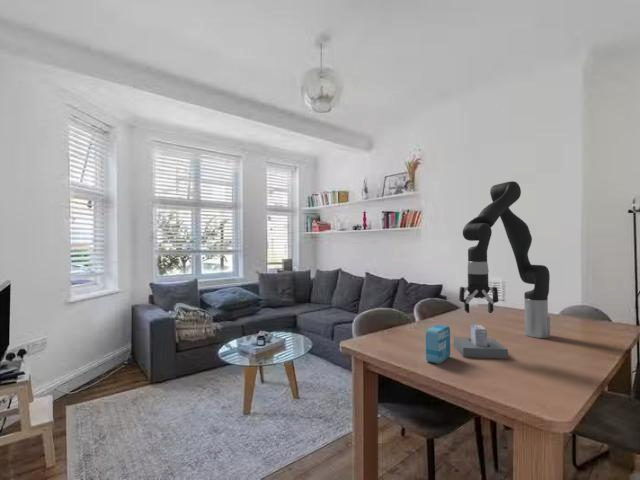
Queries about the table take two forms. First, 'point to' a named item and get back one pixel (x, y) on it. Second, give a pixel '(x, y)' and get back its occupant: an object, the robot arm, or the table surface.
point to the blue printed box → (437, 344)
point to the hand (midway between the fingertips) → (478, 312)
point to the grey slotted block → (480, 348)
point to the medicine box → (478, 335)
